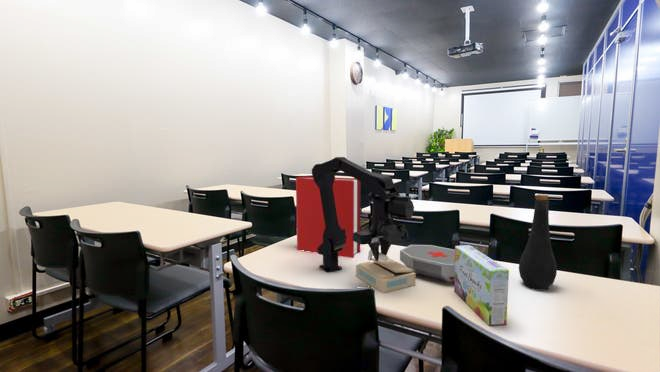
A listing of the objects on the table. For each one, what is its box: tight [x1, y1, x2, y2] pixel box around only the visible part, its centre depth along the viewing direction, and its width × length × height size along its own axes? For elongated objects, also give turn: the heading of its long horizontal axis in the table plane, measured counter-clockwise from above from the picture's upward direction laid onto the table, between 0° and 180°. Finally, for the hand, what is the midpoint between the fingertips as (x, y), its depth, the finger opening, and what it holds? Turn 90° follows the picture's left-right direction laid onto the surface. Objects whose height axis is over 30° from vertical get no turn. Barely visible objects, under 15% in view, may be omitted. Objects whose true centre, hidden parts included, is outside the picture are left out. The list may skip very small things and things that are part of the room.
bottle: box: [518, 193, 558, 291], centre depth 111 cm, size 11×11×30 cm
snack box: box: [453, 245, 510, 327], centre depth 98 cm, size 21×6×15 cm, turn 4°
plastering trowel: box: [367, 249, 414, 273], centre depth 118 cm, size 14×11×5 cm
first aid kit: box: [399, 244, 455, 283], centre depth 124 cm, size 18×8×25 cm
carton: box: [355, 261, 416, 294], centre depth 118 cm, size 16×13×5 cm
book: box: [295, 175, 362, 259], centre depth 149 cm, size 27×8×32 cm, turn 66°
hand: (380, 260), depth 115 cm, fingers closed
